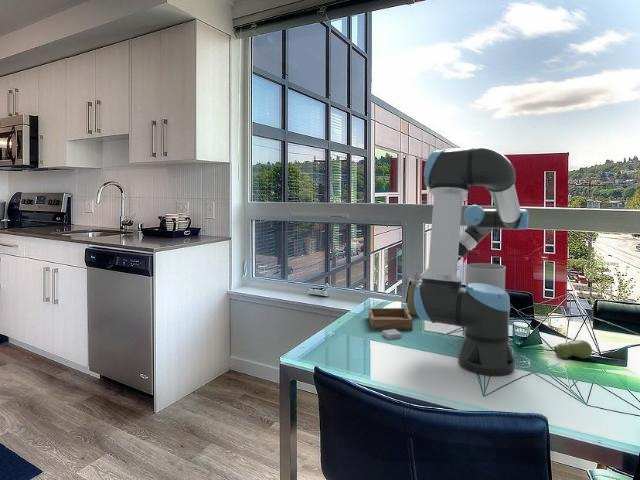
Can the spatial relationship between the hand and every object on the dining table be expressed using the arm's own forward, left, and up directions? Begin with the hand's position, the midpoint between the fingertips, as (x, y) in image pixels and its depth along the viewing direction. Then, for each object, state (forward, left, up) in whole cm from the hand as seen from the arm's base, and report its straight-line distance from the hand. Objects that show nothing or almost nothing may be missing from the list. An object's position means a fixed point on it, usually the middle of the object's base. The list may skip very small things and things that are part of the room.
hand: (425, 281), depth 168 cm
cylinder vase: (-28, -14, -14) cm, 34 cm away
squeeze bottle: (-1, +4, -14) cm, 14 cm away
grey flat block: (-28, +18, -14) cm, 36 cm away
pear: (-46, -35, -14) cm, 59 cm away
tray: (-14, +17, -14) cm, 26 cm away
